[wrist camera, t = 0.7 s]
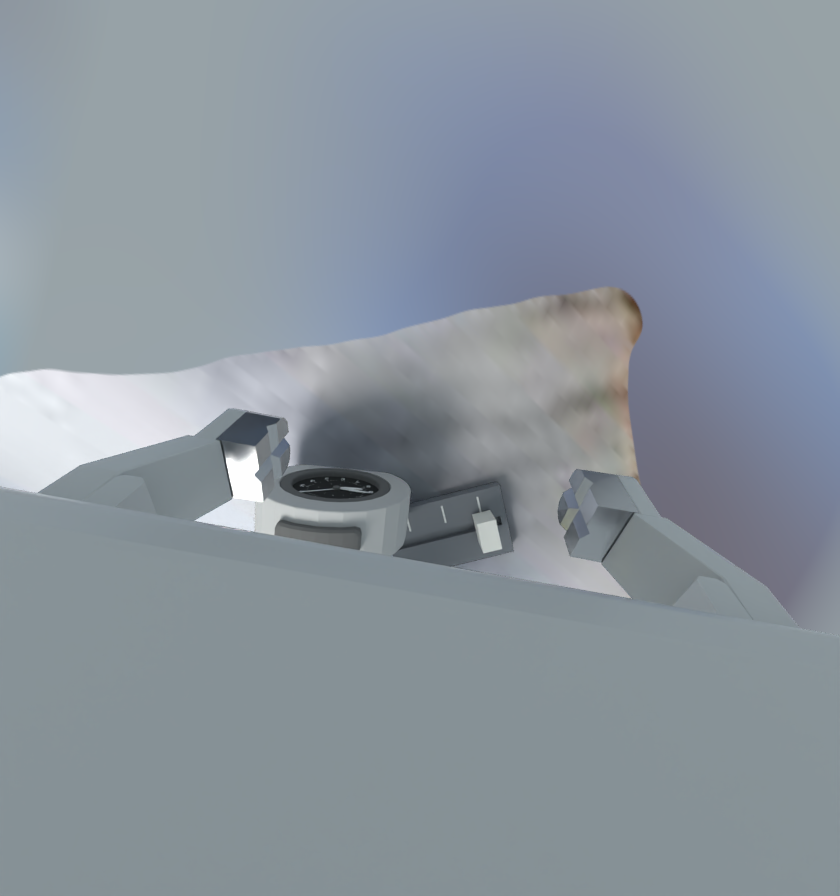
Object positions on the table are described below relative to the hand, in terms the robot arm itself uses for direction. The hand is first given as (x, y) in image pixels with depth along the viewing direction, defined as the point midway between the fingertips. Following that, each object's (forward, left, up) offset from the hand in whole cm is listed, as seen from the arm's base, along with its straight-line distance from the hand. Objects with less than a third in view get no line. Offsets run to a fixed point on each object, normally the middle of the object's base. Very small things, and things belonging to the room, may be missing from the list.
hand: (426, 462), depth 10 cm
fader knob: (-24, -6, -46) cm, 52 cm away
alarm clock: (-13, +15, -48) cm, 52 cm away
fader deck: (-24, 0, -47) cm, 53 cm away
